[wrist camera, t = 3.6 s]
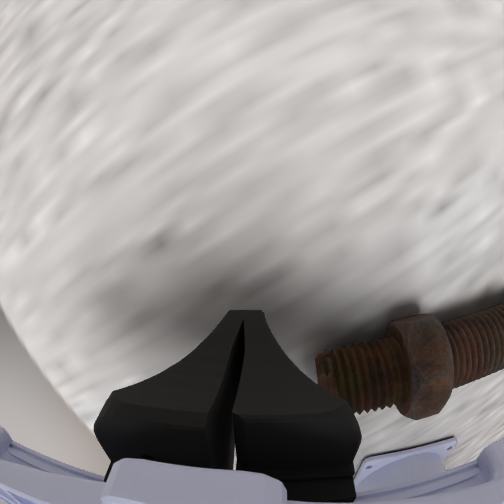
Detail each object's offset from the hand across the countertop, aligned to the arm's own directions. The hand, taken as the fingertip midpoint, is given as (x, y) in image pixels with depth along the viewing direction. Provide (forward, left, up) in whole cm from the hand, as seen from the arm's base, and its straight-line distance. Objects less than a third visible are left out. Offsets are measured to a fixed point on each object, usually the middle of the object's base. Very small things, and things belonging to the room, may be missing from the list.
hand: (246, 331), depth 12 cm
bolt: (-1, -10, -2) cm, 11 cm away
